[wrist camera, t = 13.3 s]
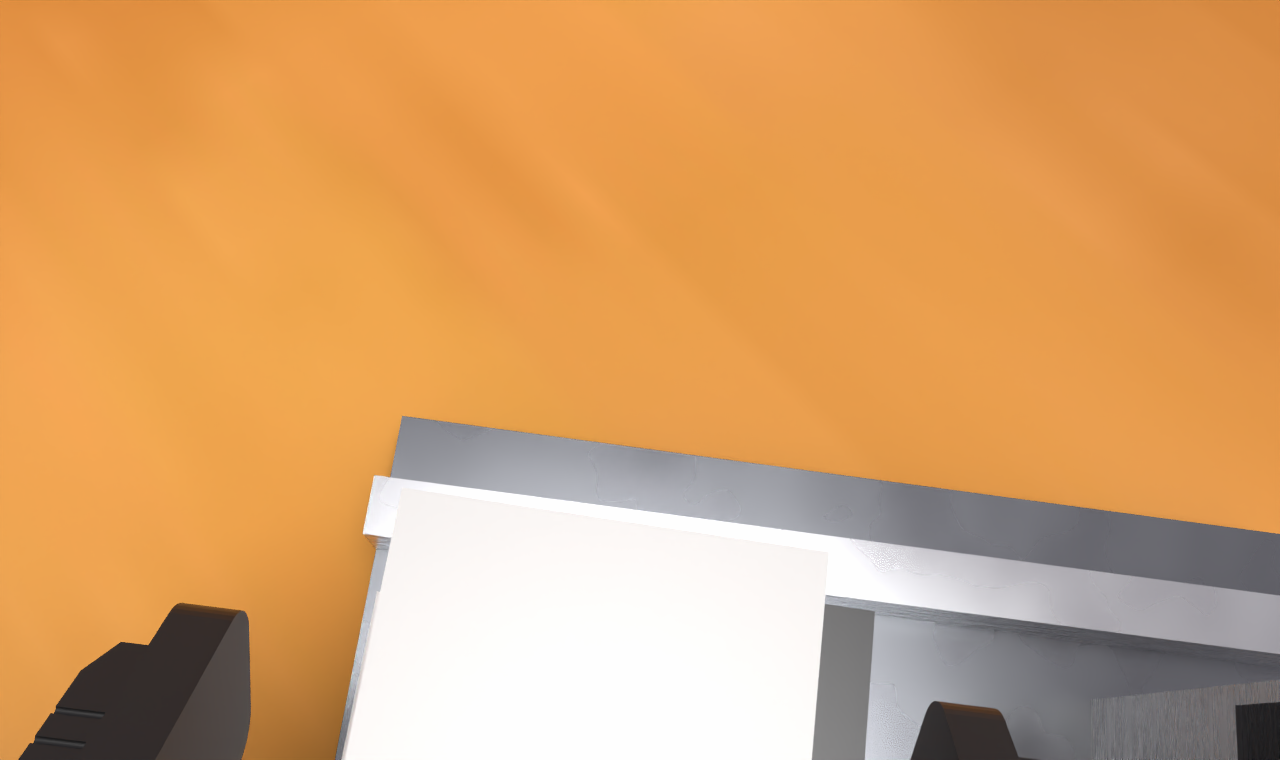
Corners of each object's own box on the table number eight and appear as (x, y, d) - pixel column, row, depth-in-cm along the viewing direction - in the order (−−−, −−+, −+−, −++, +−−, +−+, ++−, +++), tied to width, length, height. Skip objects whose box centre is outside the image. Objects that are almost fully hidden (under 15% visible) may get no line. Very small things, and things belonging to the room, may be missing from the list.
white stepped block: (339, 847, 19) (113, 940, 9) (389, 603, 20) (240, 462, 10) (705, 899, 19) (861, 1045, 9) (732, 654, 20) (892, 561, 11)
